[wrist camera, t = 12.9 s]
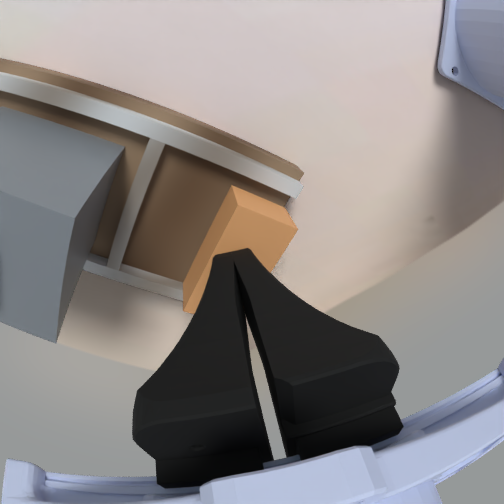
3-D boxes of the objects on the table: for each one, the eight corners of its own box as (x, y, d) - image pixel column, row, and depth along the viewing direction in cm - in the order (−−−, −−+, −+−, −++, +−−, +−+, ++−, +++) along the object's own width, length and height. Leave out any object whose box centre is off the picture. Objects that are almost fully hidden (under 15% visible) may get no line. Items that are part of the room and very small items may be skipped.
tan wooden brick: (284, 207, 13) (297, 229, 11) (231, 297, 15) (236, 325, 13) (231, 185, 12) (238, 205, 10) (183, 283, 14) (183, 311, 12)
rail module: (125, 146, 11) (66, 232, 6) (95, 239, 13) (51, 358, 7) (2, 106, 9) (-110, 160, 3) (-13, 199, 10) (-94, 289, 5)
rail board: (296, 165, 14) (308, 178, 12) (220, 297, 17) (223, 318, 16) (-67, 48, 6) (-86, 51, 5) (-85, 187, 9) (-100, 200, 8)
